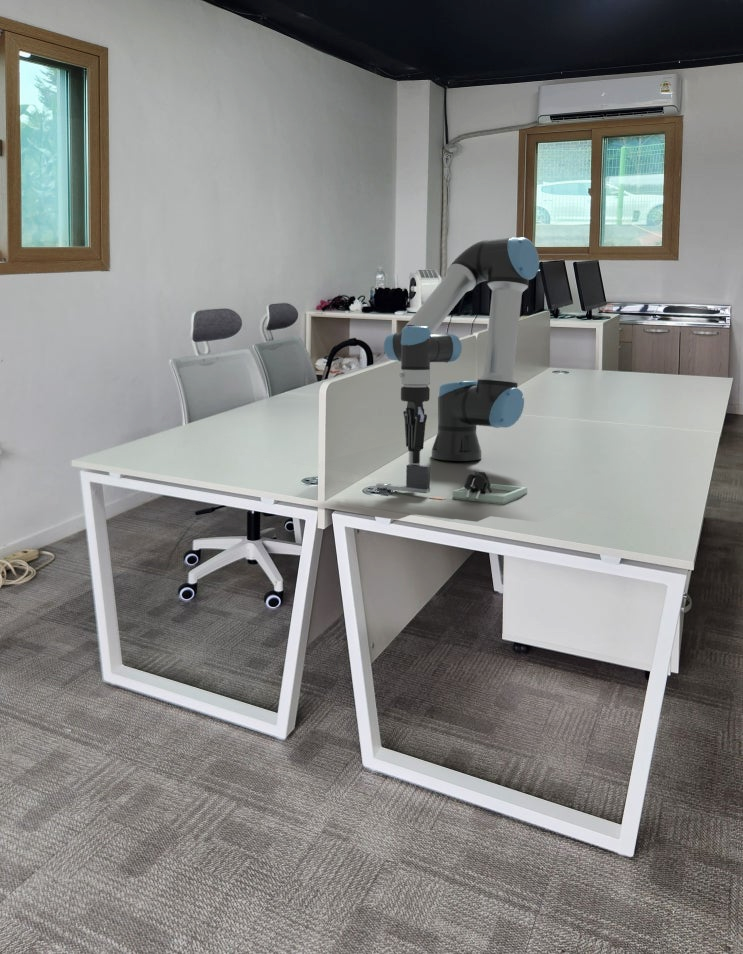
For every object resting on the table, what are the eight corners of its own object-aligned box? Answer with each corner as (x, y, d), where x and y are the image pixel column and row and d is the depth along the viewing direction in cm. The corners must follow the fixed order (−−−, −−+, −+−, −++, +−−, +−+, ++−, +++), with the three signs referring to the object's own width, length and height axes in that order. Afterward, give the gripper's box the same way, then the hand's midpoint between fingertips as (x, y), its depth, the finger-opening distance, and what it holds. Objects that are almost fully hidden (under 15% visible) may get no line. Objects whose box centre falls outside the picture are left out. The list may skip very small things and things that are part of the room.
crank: (373, 488, 227) (373, 463, 226) (380, 486, 231) (380, 461, 230) (425, 493, 220) (425, 467, 219) (431, 491, 224) (432, 465, 223)
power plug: (501, 490, 224) (487, 468, 215) (493, 516, 221) (478, 495, 212) (481, 487, 227) (466, 465, 218) (473, 513, 224) (457, 492, 215)
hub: (378, 489, 233) (379, 486, 233) (401, 492, 230) (401, 488, 229) (365, 493, 227) (365, 489, 227) (388, 495, 224) (388, 492, 224)
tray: (478, 489, 234) (478, 482, 234) (527, 494, 227) (527, 487, 227) (452, 498, 221) (452, 490, 221) (503, 504, 214) (503, 496, 213)
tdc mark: (431, 497, 222) (431, 496, 222) (445, 499, 220) (445, 498, 220) (429, 498, 221) (429, 497, 221) (443, 500, 219) (443, 499, 219)
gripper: (394, 384, 231) (393, 471, 234) (408, 387, 218) (407, 479, 222) (421, 384, 232) (420, 470, 236) (437, 387, 220) (435, 478, 224)
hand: (414, 474), depth 229 cm, fingers closed
